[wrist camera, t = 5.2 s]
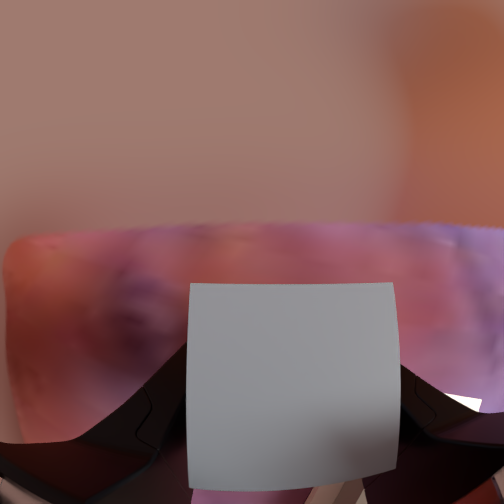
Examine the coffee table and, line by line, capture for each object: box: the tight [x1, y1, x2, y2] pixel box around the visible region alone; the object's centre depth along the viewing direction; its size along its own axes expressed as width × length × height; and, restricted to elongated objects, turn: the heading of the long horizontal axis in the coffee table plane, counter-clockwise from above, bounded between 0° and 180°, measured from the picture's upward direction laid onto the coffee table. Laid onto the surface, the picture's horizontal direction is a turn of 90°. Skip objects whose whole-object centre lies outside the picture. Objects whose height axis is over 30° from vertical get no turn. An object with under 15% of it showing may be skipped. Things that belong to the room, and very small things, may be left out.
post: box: [186, 282, 401, 491], centre depth 9 cm, size 4×4×11 cm
